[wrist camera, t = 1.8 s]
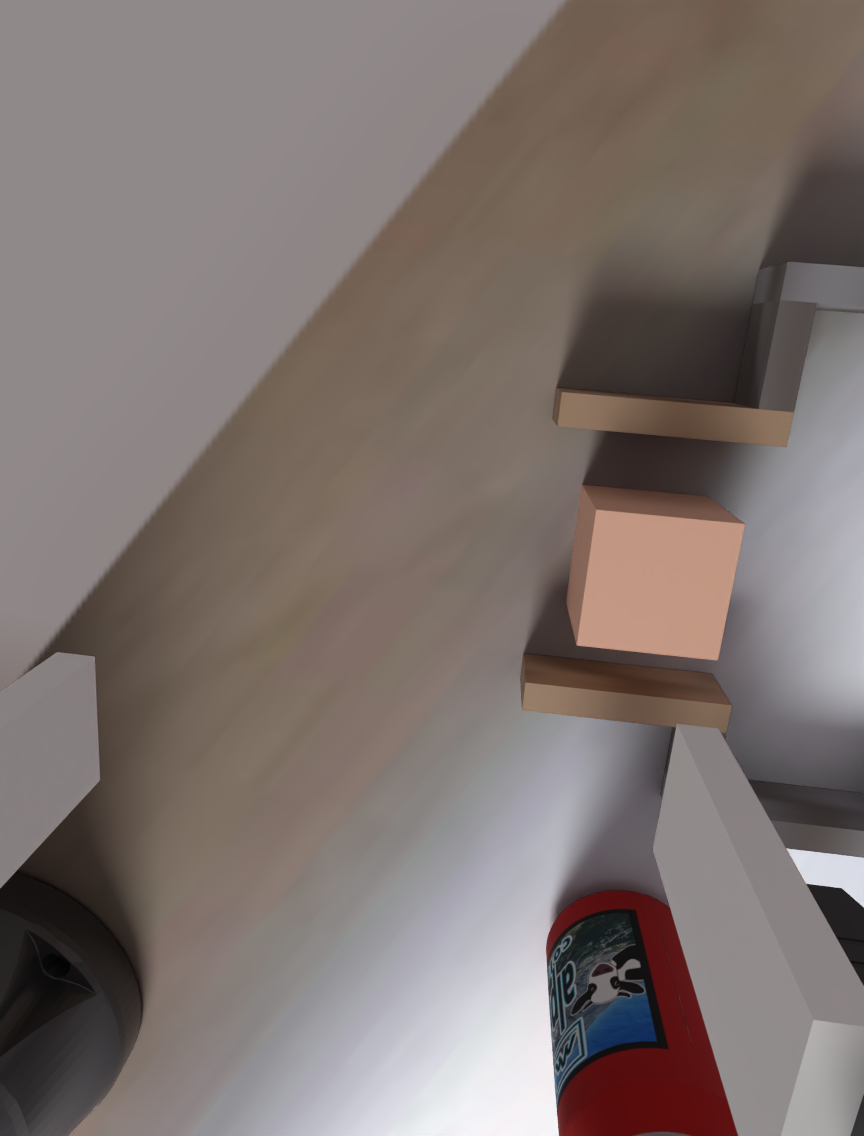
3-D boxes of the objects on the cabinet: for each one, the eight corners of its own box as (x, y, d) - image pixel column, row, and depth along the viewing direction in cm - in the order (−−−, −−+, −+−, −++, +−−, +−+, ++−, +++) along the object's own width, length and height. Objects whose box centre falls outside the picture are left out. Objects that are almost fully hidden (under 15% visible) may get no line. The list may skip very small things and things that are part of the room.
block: (565, 601, 33) (576, 645, 28) (581, 484, 31) (596, 509, 26) (685, 613, 32) (717, 660, 28) (707, 496, 31) (745, 524, 26)
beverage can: (573, 859, 36) (607, 1100, 24) (711, 904, 36) (809, 1167, 25) (524, 969, 38) (534, 1241, 26) (655, 1012, 38) (722, 1302, 26)
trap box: (508, 776, 35) (509, 814, 32) (572, 255, 29) (580, 245, 26) (1028, 837, 34) (1077, 883, 31) (1213, 305, 27) (1296, 300, 25)
